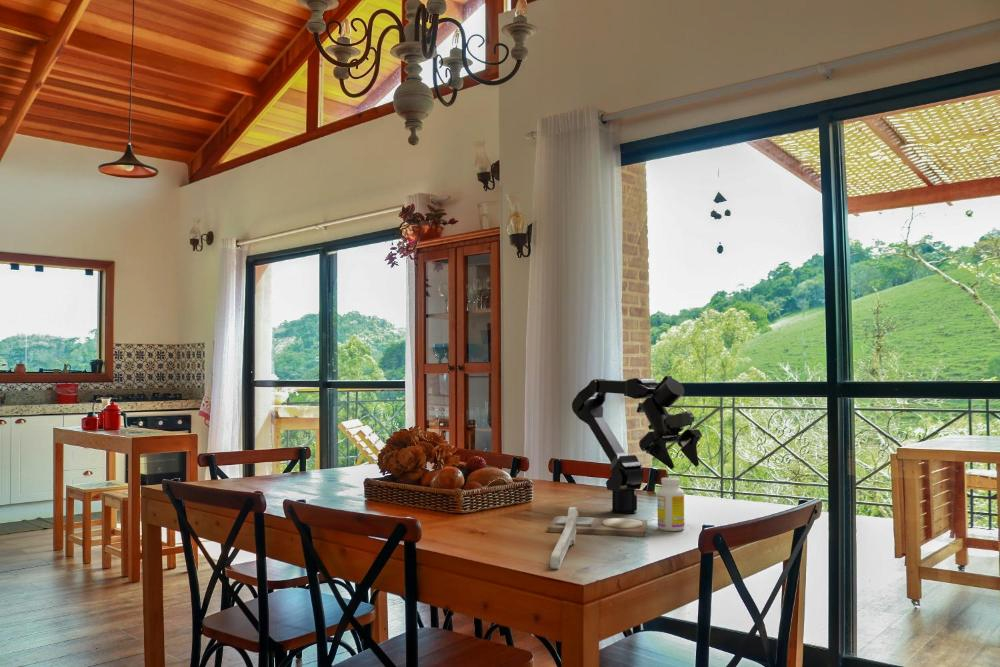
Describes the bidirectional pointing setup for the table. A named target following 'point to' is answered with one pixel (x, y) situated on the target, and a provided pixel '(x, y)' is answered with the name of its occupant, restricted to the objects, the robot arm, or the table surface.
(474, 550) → the table surface
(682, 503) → the supplement bottle
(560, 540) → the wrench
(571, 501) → the table surface
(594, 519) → the coaster board
